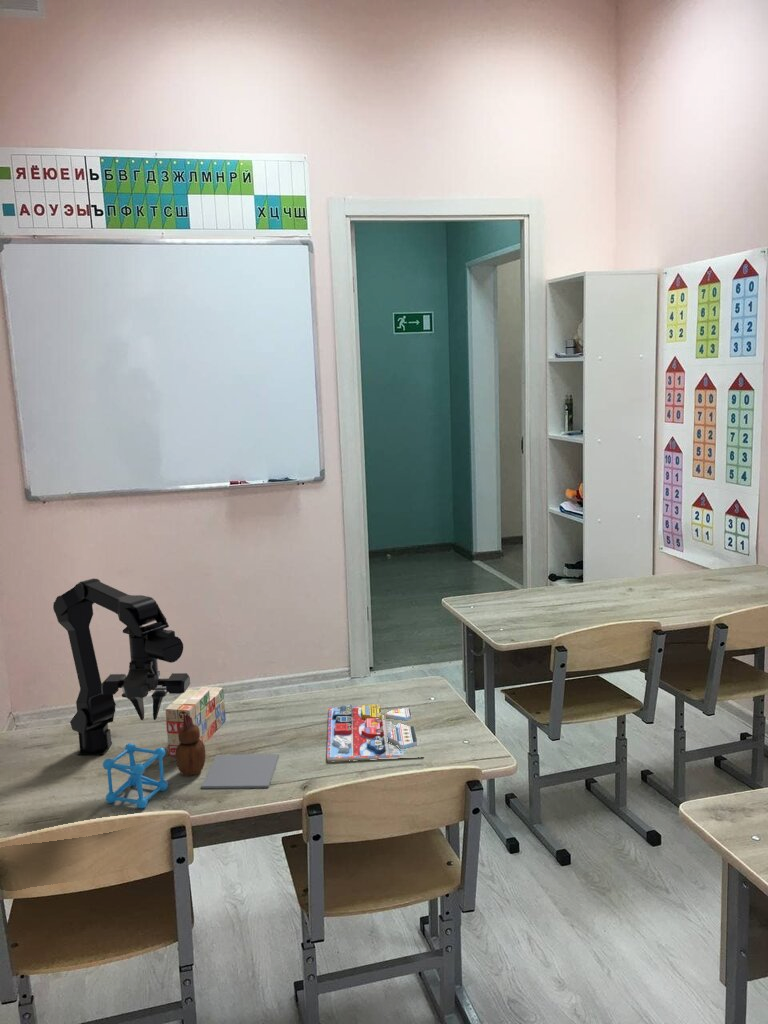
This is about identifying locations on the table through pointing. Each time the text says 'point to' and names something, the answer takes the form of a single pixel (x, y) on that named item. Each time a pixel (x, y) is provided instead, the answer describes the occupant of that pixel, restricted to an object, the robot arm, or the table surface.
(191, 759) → the wooden figurine
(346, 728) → the puzzle board
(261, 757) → the felt mat
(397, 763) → the table surface
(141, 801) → the molecular structure
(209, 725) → the stack of blocks
